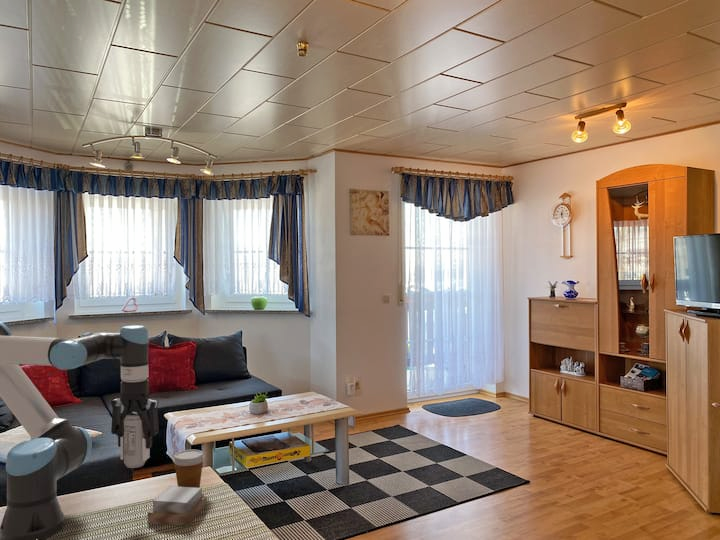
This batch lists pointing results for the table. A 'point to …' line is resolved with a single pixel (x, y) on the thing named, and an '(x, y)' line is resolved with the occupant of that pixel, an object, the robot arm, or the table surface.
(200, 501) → the plinth
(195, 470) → the disposable coffee cup
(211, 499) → the table surface
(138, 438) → the energy drink can
